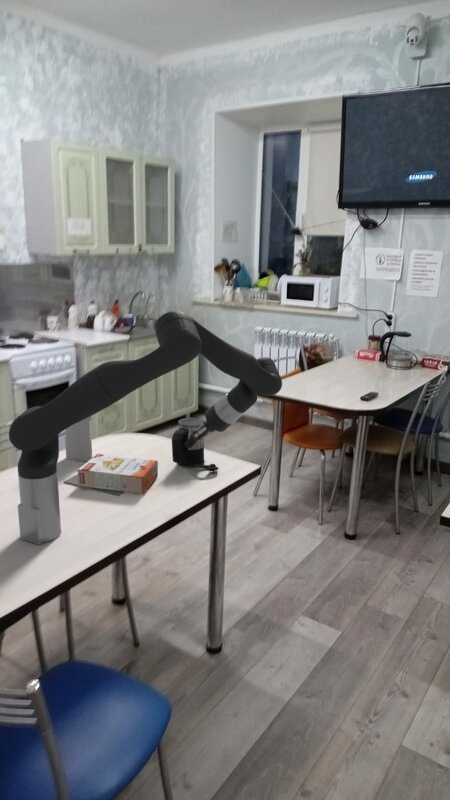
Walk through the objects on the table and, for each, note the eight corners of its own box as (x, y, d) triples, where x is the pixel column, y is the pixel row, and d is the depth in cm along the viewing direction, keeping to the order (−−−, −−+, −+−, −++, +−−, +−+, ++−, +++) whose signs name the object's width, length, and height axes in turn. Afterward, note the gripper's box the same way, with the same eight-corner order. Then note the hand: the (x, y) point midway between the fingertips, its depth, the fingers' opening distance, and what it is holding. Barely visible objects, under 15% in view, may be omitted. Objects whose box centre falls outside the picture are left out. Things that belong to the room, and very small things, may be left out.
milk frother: (183, 456, 199) (183, 415, 194) (226, 461, 194) (227, 420, 190) (168, 471, 185) (168, 428, 181) (214, 478, 181) (215, 434, 177)
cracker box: (143, 475, 165) (76, 468, 170) (143, 494, 167) (77, 487, 171) (158, 458, 179) (96, 452, 183) (158, 476, 180) (97, 470, 184)
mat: (117, 496, 167) (117, 494, 167) (64, 482, 175) (64, 481, 175) (157, 470, 186) (157, 468, 186) (107, 458, 194) (107, 457, 194)
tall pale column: (62, 459, 192) (58, 397, 186) (68, 455, 196) (64, 394, 190) (90, 463, 190) (87, 400, 184) (96, 459, 194) (93, 397, 188)
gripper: (223, 429, 152) (183, 463, 160) (243, 416, 163) (205, 448, 172) (206, 407, 153) (167, 442, 161) (227, 395, 164) (190, 429, 173)
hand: (187, 445), depth 166 cm, fingers closed
